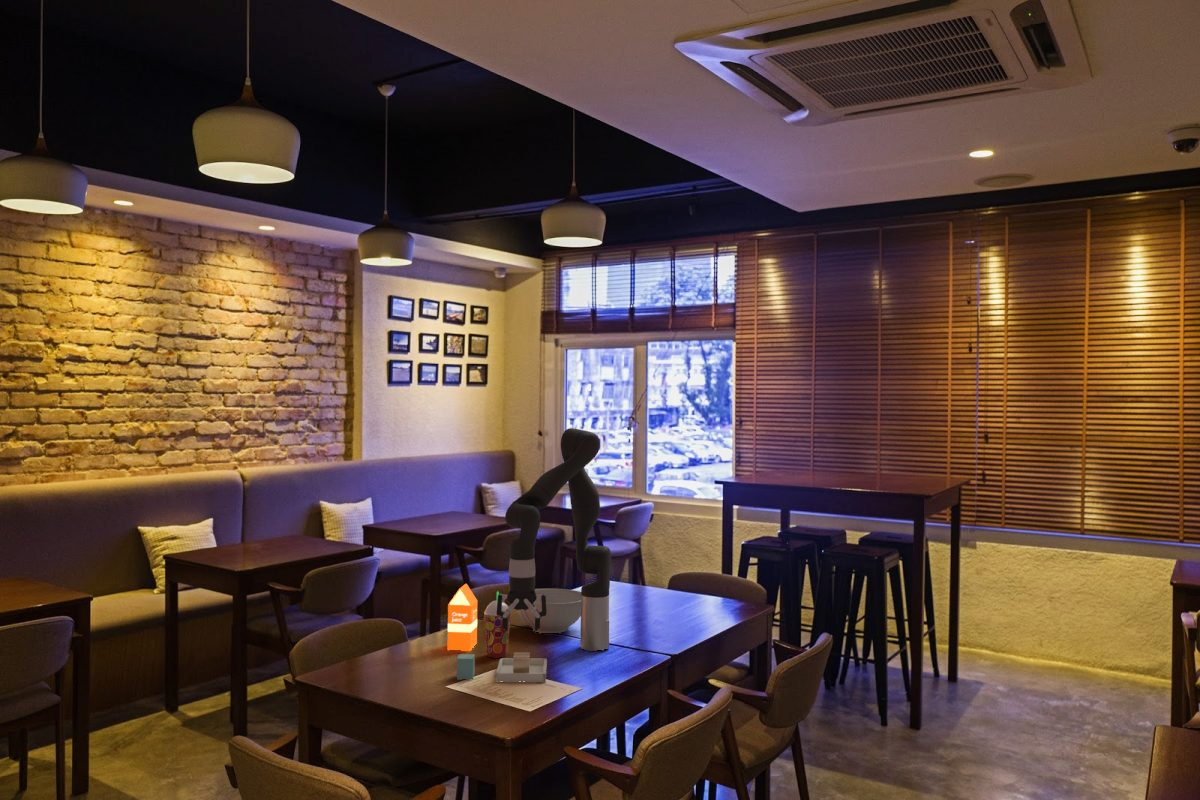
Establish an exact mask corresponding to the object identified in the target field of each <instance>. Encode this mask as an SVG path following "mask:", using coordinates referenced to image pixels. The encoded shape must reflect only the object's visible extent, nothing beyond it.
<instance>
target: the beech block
mask: <svg viewBox="0 0 1200 800" xmlns="http://www.w3.org/2000/svg"><path fill="white" fill-rule="evenodd" d="M530 655H531V652H520V651H519V652H516V651H515V652H513V658H514V659H513V673H529V670H530V657H531V656H530Z"/></svg>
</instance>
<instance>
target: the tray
mask: <svg viewBox="0 0 1200 800" xmlns="http://www.w3.org/2000/svg"><path fill="white" fill-rule="evenodd" d="M513 659H514V657H513V658H511V657H502V658H499V661H498V665H497V668H496V671H495V682H496V681H498V682H500V681H503V682H519V681H521V682H523V681H525V682H545V683H546V679H547V671H546V670H547V669H548V659H547V658H540V657H537V658H533V657H531V658H530V670H529V673H513Z"/></svg>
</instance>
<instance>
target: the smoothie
mask: <svg viewBox="0 0 1200 800" xmlns="http://www.w3.org/2000/svg"><path fill="white" fill-rule="evenodd" d="M499 593H500V592H499V591H496V599H495V600H493V601H491V602H489V604H488V605H487V606H486V608H485V610H484V611H483V614H484V616H483V617H484V635H485V636H484V637H485V638H484V639H485V653H486V654H487V657H489V658H491V657H492V659H500V657H502V658H505V657H506V655H507V653H508V650H509V638H510V626H511V625H510V624H511V623H510V622H511V613H512V611H511V612H510V613H509V615H508V631H505V629H503V618H502V617H501V616H498V615H497V600H498V595H499ZM508 607H509V605H508V604H507V603H505V601H504V602H502V611H504V612H505V611H506V609H507V608H508Z"/></svg>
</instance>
